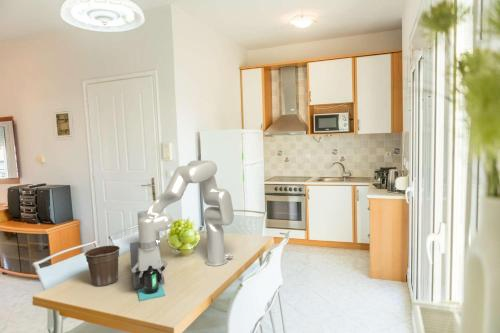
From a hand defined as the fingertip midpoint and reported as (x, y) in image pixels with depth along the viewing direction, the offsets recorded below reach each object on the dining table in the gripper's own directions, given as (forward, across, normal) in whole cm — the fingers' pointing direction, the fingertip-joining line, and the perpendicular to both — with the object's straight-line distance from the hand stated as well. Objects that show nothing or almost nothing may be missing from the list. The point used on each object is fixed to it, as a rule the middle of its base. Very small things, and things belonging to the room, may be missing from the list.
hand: (150, 282), depth 152 cm
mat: (+5, 0, 0) cm, 5 cm away
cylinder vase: (+6, -6, -65) cm, 65 cm away
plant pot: (+5, +20, -25) cm, 32 cm away
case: (+5, 0, -17) cm, 18 cm away
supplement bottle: (+4, 0, 0) cm, 4 cm away
